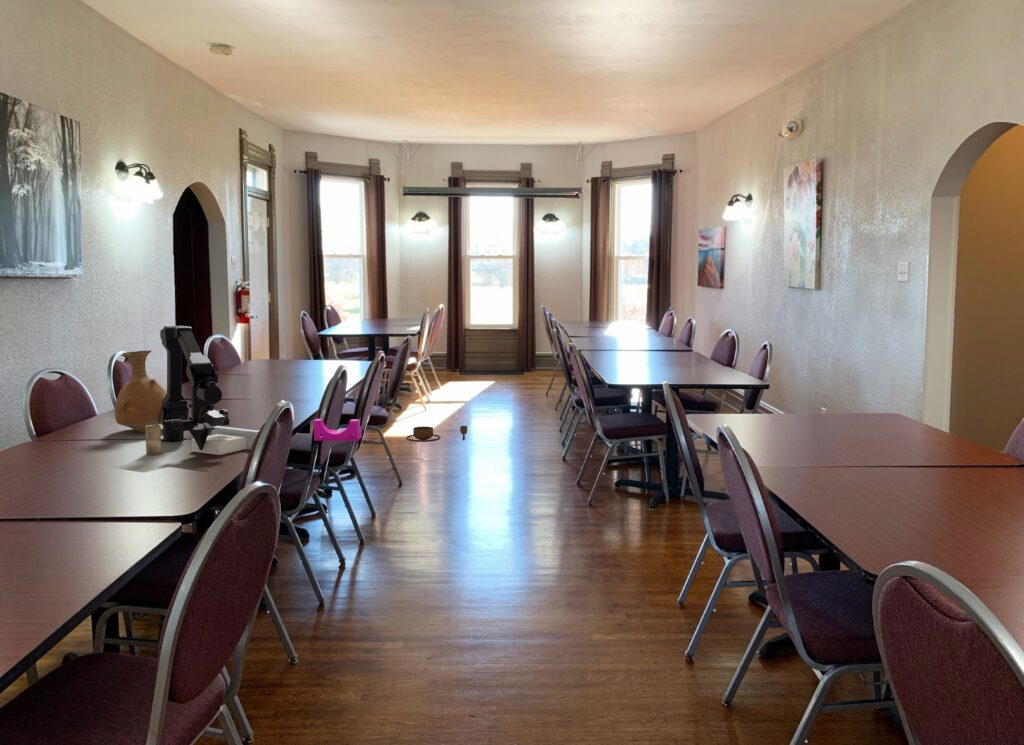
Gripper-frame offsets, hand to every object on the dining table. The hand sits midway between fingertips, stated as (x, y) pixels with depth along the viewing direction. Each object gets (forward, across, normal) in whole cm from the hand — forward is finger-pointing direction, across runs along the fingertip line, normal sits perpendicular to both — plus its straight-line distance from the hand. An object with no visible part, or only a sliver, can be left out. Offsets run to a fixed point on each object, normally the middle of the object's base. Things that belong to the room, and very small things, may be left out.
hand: (201, 449), depth 276 cm
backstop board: (+1, +15, 0) cm, 15 cm away
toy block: (0, +42, -21) cm, 46 cm away
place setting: (0, +56, -50) cm, 75 cm away
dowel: (+2, -7, +14) cm, 15 cm away
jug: (+1, +17, +48) cm, 51 cm away
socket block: (+1, +8, 0) cm, 8 cm away
